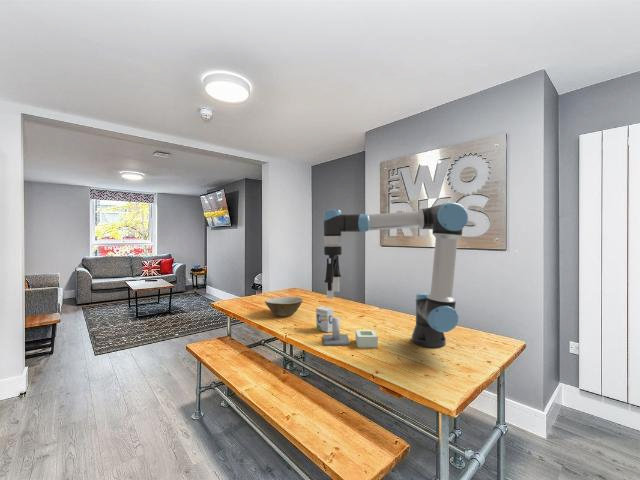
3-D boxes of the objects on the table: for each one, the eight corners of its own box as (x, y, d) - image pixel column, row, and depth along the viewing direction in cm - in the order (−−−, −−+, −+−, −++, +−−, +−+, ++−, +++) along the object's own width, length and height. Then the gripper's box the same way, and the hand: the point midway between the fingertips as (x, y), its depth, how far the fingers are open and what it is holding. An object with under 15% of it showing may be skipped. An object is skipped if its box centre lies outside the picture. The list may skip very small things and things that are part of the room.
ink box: (334, 330, 160) (334, 308, 159) (327, 333, 156) (327, 310, 156) (322, 327, 166) (322, 305, 165) (315, 329, 162) (315, 307, 162)
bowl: (271, 309, 204) (271, 294, 204) (306, 310, 201) (306, 295, 200) (259, 319, 181) (259, 302, 180) (298, 320, 177) (298, 304, 177)
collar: (374, 340, 146) (374, 330, 145) (377, 347, 137) (377, 336, 136) (355, 340, 146) (355, 330, 145) (358, 347, 137) (358, 336, 136)
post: (347, 336, 151) (347, 314, 151) (349, 345, 139) (349, 322, 139) (323, 336, 151) (323, 314, 150) (323, 345, 139) (323, 322, 139)
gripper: (330, 244, 143) (330, 288, 144) (317, 247, 119) (318, 300, 119) (345, 244, 141) (346, 289, 142) (336, 247, 117) (336, 301, 118)
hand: (333, 294), depth 131 cm, fingers open, 13 cm apart
